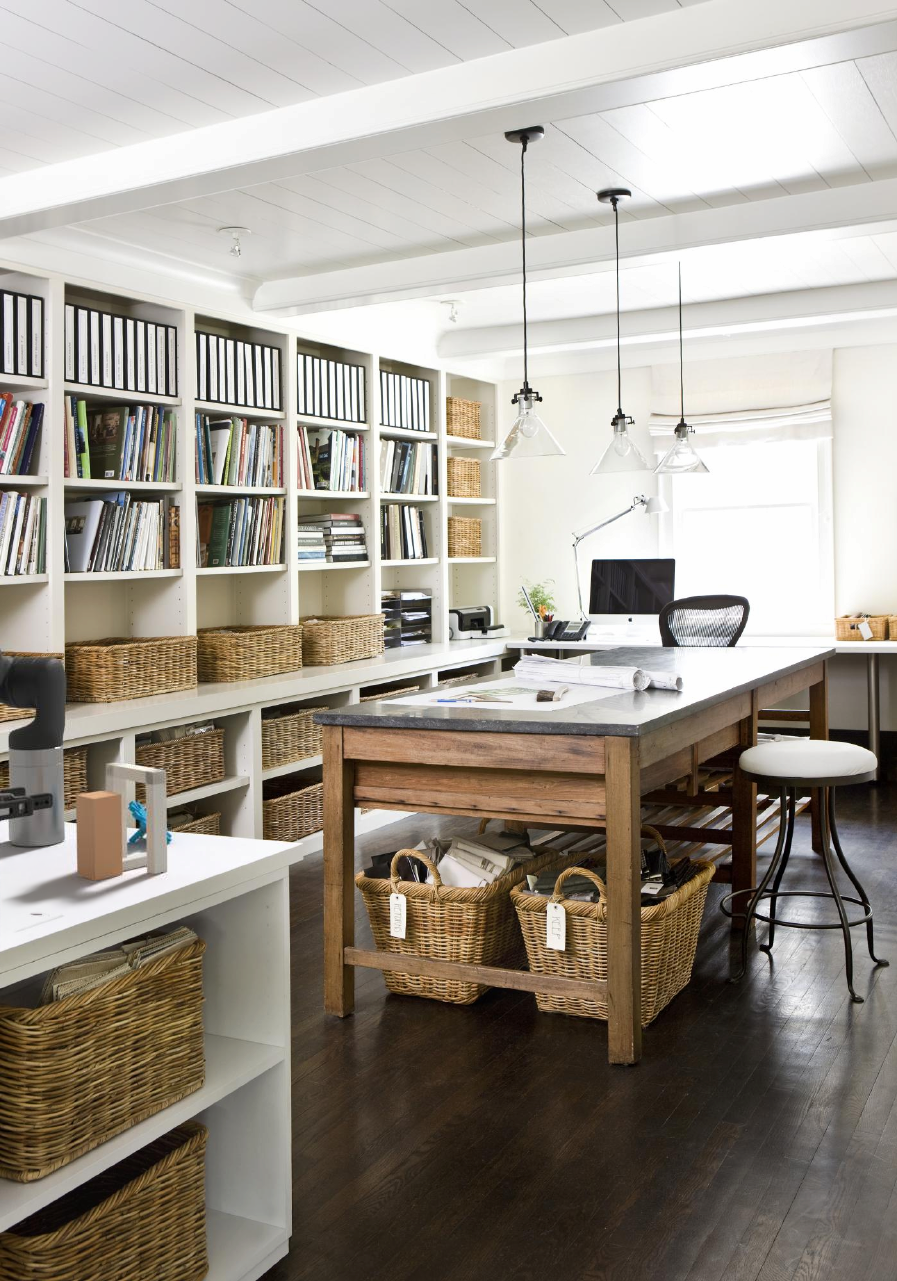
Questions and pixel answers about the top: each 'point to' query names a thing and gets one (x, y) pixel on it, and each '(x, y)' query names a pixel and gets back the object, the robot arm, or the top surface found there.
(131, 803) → the blue branched piece
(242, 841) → the top surface
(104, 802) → the orange and grey bookend
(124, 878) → the top surface
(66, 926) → the top surface
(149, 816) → the grey arch
